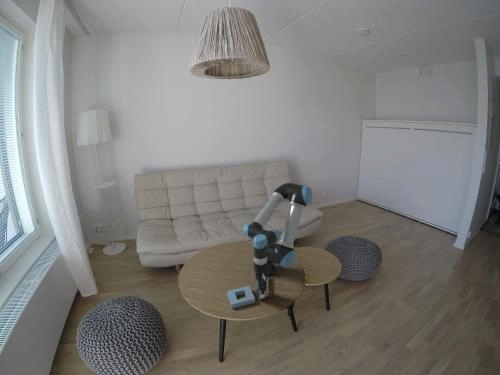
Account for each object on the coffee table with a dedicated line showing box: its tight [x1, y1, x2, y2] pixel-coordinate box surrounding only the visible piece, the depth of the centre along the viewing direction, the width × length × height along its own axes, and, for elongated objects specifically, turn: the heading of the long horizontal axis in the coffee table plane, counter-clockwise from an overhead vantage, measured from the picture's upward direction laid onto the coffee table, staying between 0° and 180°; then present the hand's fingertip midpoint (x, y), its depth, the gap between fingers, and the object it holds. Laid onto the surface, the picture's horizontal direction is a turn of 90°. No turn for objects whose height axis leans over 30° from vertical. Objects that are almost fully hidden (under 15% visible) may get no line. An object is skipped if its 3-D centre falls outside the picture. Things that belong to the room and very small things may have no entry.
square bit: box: [255, 278, 266, 301], centre depth 139 cm, size 4×4×12 cm
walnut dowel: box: [267, 276, 276, 299], centre depth 141 cm, size 4×4×12 cm
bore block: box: [226, 285, 256, 310], centre depth 141 cm, size 14×11×3 cm
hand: (260, 294), depth 141 cm, fingers closed on square bit, 4 cm apart
